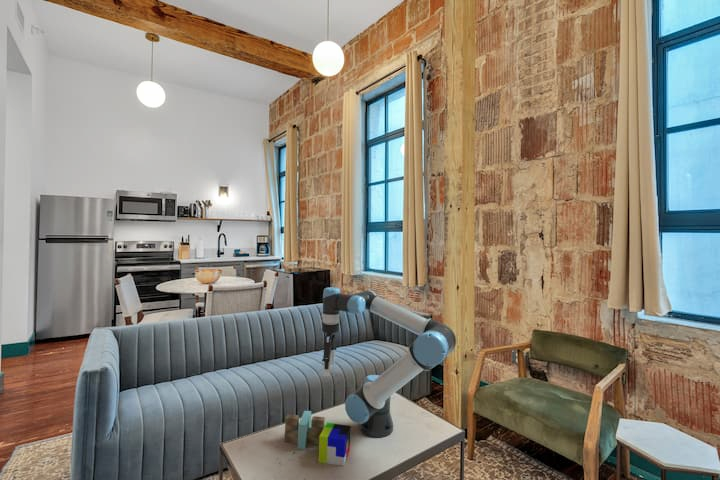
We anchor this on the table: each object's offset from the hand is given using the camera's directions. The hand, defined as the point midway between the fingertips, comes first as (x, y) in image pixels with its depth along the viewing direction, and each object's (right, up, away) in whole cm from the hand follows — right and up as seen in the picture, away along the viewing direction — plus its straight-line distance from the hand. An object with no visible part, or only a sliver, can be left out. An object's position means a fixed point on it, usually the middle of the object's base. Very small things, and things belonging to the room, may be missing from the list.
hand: (329, 370), depth 155 cm
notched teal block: (-10, -27, -9) cm, 30 cm away
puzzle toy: (+4, -27, -18) cm, 33 cm away
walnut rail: (-10, -27, -9) cm, 30 cm away
